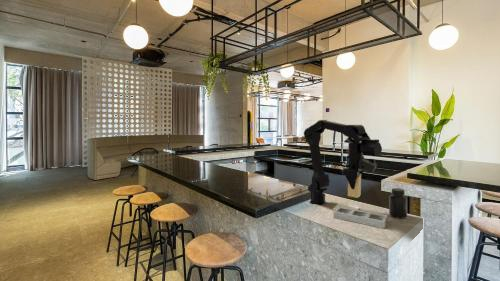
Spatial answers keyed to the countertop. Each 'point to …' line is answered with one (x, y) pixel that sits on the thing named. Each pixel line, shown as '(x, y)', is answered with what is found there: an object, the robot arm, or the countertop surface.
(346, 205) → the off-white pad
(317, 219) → the countertop surface
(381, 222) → the grey slotted tray
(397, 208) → the supplement bottle
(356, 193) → the brass peg
